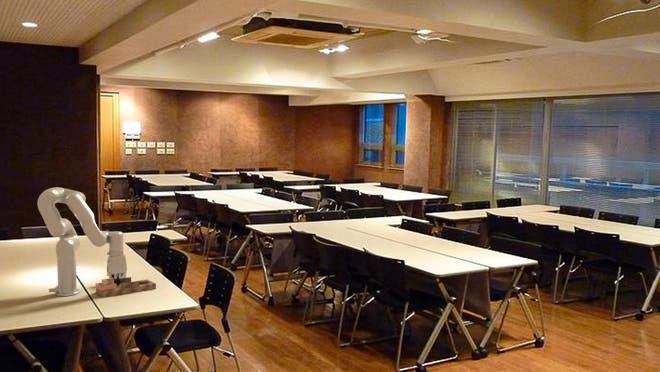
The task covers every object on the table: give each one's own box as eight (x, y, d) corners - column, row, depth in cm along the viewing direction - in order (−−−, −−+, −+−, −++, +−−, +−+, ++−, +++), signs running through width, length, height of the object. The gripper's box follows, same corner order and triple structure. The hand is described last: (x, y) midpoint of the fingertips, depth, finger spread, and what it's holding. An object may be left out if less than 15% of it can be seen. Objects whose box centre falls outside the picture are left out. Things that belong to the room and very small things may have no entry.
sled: (100, 290, 312) (100, 286, 312) (95, 287, 319) (95, 283, 318) (116, 288, 318) (116, 284, 317) (111, 285, 324) (111, 281, 324)
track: (103, 297, 311) (103, 286, 311) (95, 292, 321) (95, 282, 321) (156, 288, 330) (155, 278, 330) (147, 284, 340) (146, 274, 340)
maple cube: (104, 289, 315) (104, 281, 315) (101, 288, 319) (101, 279, 319) (113, 288, 319) (113, 279, 318) (110, 286, 322) (110, 278, 322)
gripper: (105, 256, 313) (106, 288, 314) (131, 252, 323) (132, 284, 324) (100, 254, 319) (101, 286, 320) (127, 250, 328) (127, 281, 330)
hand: (117, 285), depth 322 cm, fingers closed
